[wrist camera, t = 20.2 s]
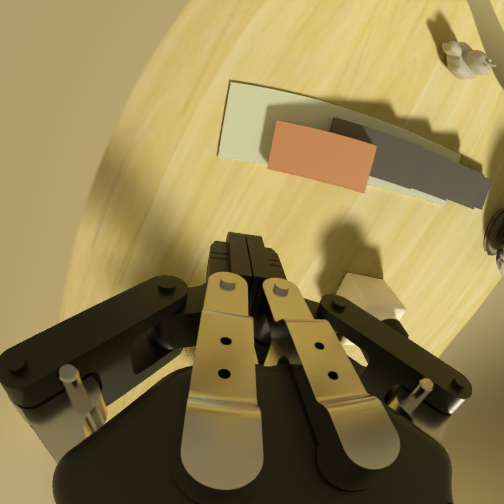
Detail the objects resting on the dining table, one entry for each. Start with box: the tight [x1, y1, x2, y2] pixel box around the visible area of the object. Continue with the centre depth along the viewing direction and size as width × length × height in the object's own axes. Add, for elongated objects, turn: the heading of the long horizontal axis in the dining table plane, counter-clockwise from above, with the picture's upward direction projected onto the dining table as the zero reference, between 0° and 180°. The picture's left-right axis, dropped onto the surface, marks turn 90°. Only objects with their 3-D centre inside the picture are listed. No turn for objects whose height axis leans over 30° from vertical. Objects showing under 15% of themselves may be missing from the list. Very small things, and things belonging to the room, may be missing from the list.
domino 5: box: [474, 177, 491, 210], centre depth 32 cm, size 2×5×10 cm
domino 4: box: [447, 163, 484, 209], centre depth 30 cm, size 2×5×10 cm
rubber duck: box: [442, 40, 496, 79], centre depth 21 cm, size 5×7×8 cm
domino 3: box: [411, 148, 458, 201], centre depth 29 cm, size 2×5×10 cm
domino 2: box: [330, 118, 422, 189], centre depth 28 cm, size 2×5×10 cm
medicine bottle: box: [335, 273, 410, 364], centre depth 36 cm, size 7×7×12 cm
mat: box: [218, 82, 461, 206], centre depth 30 cm, size 32×8×1 cm, turn 80°
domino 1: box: [267, 120, 377, 193], centre depth 27 cm, size 2×5×10 cm
